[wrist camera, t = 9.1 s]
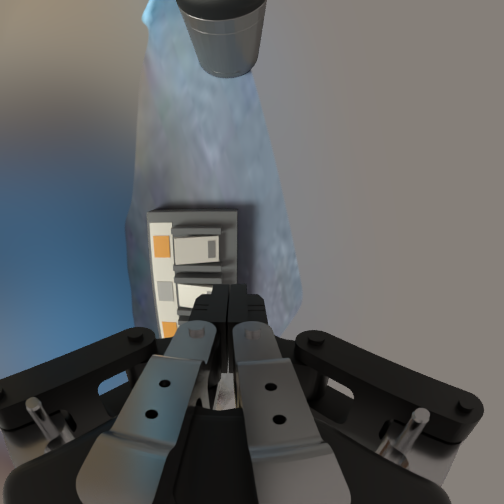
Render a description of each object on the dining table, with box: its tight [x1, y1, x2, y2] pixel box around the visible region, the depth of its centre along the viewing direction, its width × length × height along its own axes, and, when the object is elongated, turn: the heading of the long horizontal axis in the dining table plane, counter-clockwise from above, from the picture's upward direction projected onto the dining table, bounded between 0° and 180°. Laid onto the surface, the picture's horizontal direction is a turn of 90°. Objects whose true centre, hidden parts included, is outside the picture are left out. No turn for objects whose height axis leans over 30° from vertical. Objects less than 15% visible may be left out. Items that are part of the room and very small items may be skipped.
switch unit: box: [147, 209, 237, 339], centre depth 41 cm, size 24×13×5 cm, turn 179°
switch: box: [174, 235, 219, 265], centre depth 37 cm, size 4×6×1 cm, turn 89°
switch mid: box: [178, 283, 213, 308], centre depth 39 cm, size 4×6×1 cm, turn 89°
